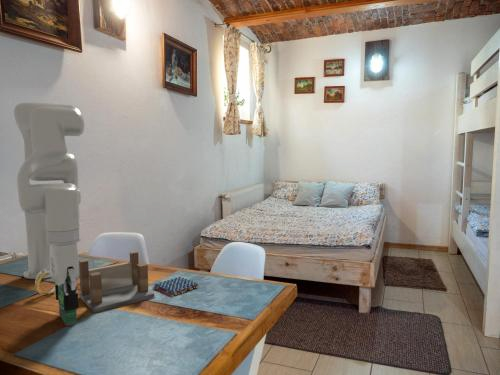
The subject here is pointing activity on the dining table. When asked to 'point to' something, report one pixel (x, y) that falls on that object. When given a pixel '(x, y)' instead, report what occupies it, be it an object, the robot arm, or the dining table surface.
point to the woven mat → (175, 286)
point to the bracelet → (40, 280)
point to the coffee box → (66, 316)
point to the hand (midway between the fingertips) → (66, 303)
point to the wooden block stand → (114, 284)
